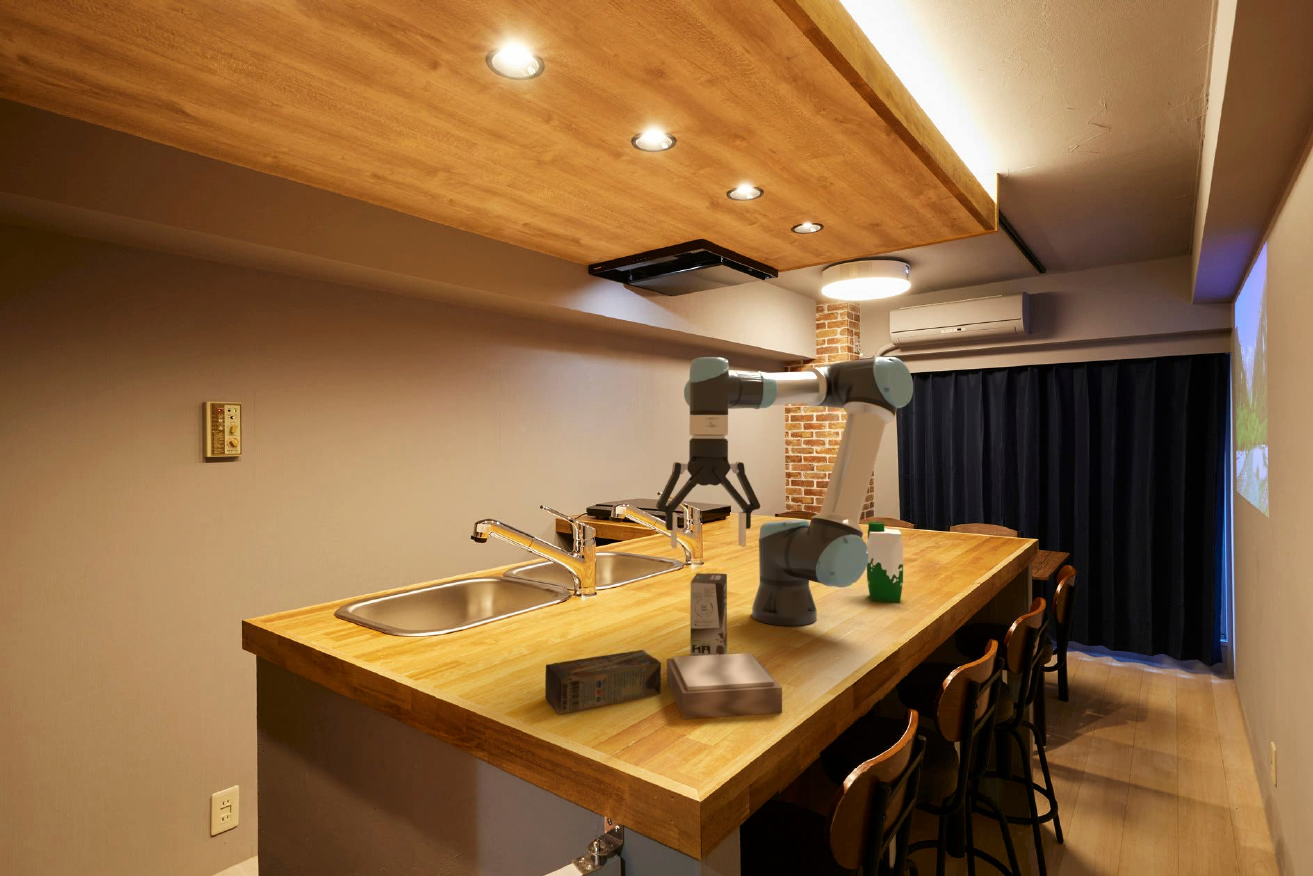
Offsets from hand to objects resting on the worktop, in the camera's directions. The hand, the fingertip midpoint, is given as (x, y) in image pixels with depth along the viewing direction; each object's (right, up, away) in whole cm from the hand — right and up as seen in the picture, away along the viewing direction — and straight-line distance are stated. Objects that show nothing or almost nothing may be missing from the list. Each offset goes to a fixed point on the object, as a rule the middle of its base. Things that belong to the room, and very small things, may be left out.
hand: (708, 546), depth 132 cm
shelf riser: (+1, -22, -18) cm, 28 cm away
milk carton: (+50, -22, +47) cm, 72 cm away
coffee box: (0, -22, 0) cm, 22 cm away
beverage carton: (-19, -23, -18) cm, 35 cm away
